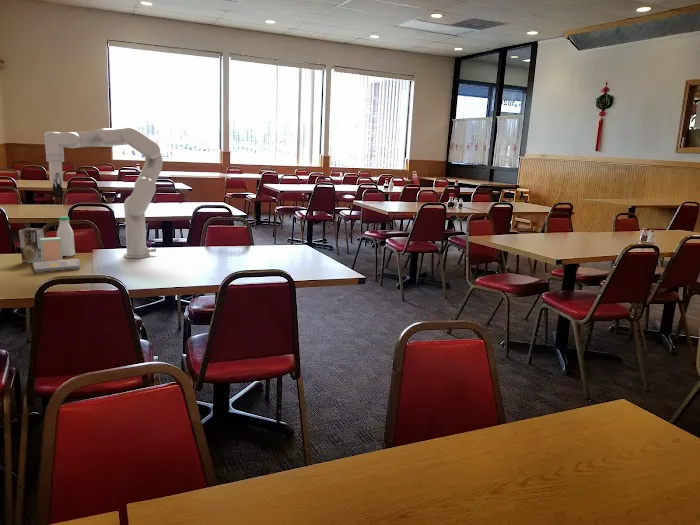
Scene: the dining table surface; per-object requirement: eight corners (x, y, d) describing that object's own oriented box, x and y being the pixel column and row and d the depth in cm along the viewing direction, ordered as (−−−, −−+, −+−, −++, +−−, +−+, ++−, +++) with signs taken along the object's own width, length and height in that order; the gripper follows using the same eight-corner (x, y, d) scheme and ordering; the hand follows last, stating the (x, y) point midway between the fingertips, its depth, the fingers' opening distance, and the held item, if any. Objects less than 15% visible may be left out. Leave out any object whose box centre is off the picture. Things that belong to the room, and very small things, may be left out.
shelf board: (75, 262, 263) (74, 253, 262) (79, 269, 251) (79, 259, 250) (32, 266, 253) (31, 256, 252) (35, 272, 241) (34, 262, 240)
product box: (42, 263, 251) (39, 238, 249) (61, 262, 256) (59, 237, 253) (43, 265, 247) (40, 239, 245) (62, 264, 251) (60, 238, 249)
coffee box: (48, 261, 265) (45, 228, 262) (39, 263, 259) (36, 230, 255) (30, 260, 266) (27, 227, 262) (21, 262, 259) (18, 229, 256)
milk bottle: (74, 256, 277) (71, 217, 273) (57, 257, 274) (54, 217, 270) (75, 253, 284) (73, 215, 280) (59, 254, 281) (56, 216, 277)
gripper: (44, 157, 263) (47, 193, 266) (47, 158, 249) (50, 196, 252) (62, 158, 267) (64, 193, 270) (66, 159, 253) (68, 196, 256)
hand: (57, 194), depth 261 cm, fingers open, 9 cm apart
